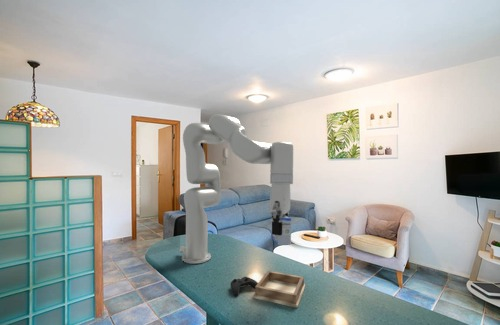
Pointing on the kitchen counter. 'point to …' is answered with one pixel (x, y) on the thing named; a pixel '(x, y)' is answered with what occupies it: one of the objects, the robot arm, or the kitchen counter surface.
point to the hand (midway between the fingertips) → (280, 230)
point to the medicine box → (283, 232)
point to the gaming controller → (242, 284)
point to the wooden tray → (280, 288)
